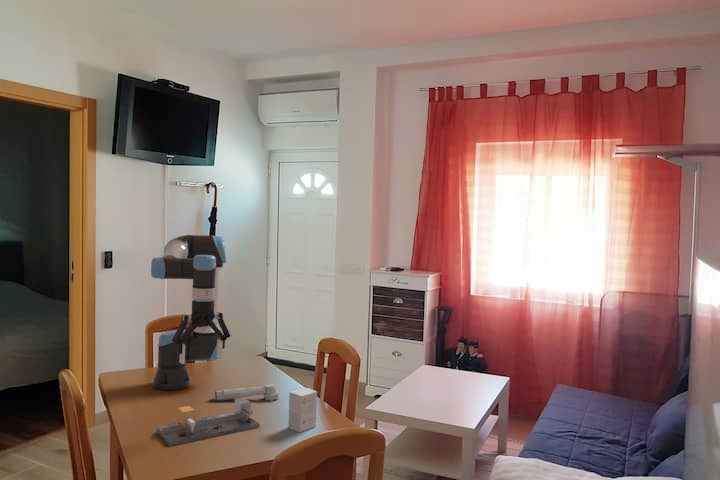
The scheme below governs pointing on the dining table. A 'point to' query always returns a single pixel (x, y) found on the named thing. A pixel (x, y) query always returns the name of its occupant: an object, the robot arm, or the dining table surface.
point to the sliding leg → (186, 416)
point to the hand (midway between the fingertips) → (201, 360)
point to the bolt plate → (210, 425)
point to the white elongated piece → (248, 393)
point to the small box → (302, 409)
